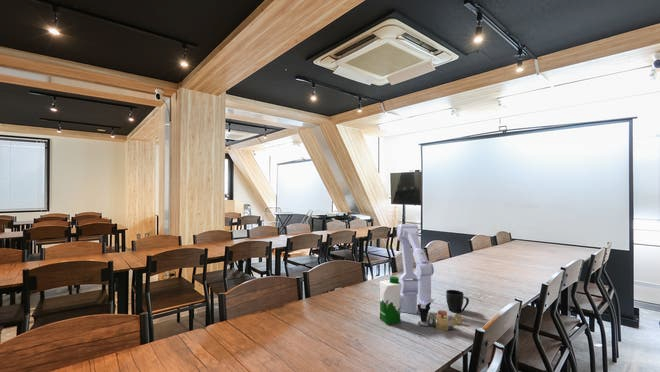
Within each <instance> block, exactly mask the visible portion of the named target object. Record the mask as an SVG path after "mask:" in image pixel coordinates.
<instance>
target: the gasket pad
mask: <svg viewBox="0 0 660 372" xmlns="http://www.w3.org/2000/svg"><path fill="white" fill-rule="evenodd" d="M417 324H418V326H420V327H424V328H429V327H432V326H431V323H430V325H429V326H424V325H421V324H420V321H418V322H417Z"/></svg>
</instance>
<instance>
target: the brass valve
mask: <svg viewBox="0 0 660 372" xmlns="http://www.w3.org/2000/svg"><path fill="white" fill-rule="evenodd" d="M430 324H431V326H430V327H435V329H436V330H442V331H449V330H452V331H453V330H454V325H453V322H451V320H449V315H448V312H447V311H446V310H441V309H439V310H437V313H436V317H435V318H434V315H431V316H430Z"/></svg>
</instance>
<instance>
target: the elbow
mask: <svg viewBox="0 0 660 372" xmlns="http://www.w3.org/2000/svg"><path fill="white" fill-rule="evenodd" d="M462 317H463V316H462V315H461V314H460V313H455V318H453V317H452V318H451V320H450V321H451V322H453V326H458V325H459V326H460V325H461V326H462V325H463V324H462V321H463V320H462Z"/></svg>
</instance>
